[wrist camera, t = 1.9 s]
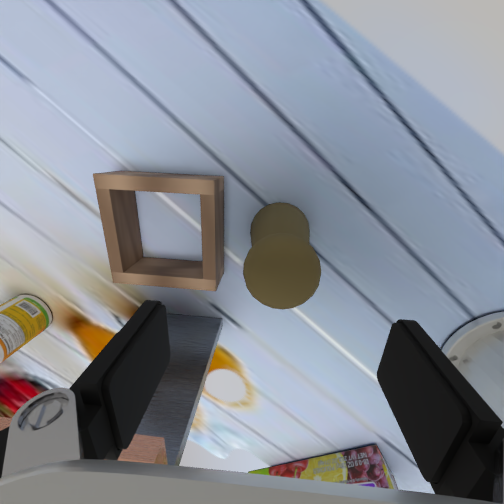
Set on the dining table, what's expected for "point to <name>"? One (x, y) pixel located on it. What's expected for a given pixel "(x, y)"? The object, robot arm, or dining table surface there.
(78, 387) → the robot arm
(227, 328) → the dining table surface
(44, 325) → the supplement bottle
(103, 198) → the socket block
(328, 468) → the snack box
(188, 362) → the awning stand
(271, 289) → the cork
